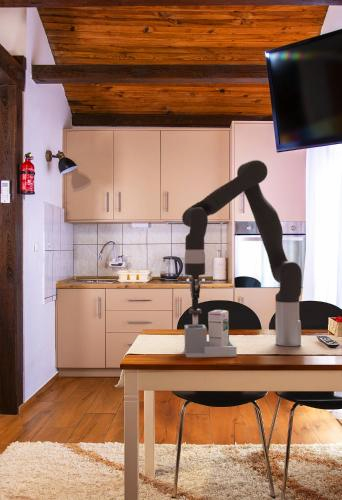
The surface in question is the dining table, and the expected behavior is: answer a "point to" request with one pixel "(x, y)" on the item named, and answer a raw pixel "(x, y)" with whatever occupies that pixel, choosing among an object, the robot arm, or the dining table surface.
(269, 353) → the dining table surface
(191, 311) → the black knob with stem
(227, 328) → the syrup box
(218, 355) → the tray
